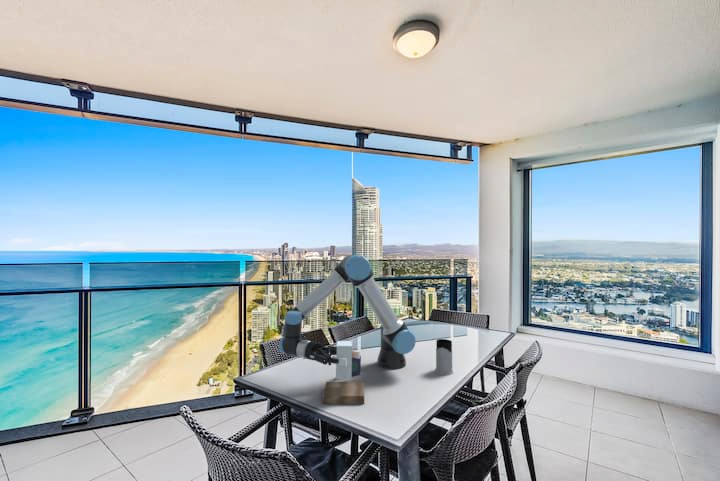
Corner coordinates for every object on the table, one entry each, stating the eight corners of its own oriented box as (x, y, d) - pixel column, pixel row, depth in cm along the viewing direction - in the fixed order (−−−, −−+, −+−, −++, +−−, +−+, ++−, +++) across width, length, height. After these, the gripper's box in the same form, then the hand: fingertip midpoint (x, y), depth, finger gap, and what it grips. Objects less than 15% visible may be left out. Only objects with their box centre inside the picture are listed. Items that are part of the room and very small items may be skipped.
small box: (351, 379, 122) (352, 346, 123) (335, 379, 122) (336, 346, 123) (351, 371, 130) (351, 340, 131) (336, 372, 130) (336, 340, 131)
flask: (344, 378, 144) (345, 355, 145) (341, 376, 147) (342, 353, 147) (361, 374, 149) (361, 352, 149) (358, 372, 151) (358, 350, 152)
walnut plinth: (363, 388, 133) (363, 381, 133) (364, 404, 119) (364, 396, 119) (326, 388, 132) (326, 381, 133) (322, 403, 118) (322, 396, 119)
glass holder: (433, 372, 152) (433, 341, 153) (440, 364, 165) (439, 335, 166) (451, 375, 148) (451, 344, 149) (456, 366, 161) (456, 337, 162)
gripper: (324, 352, 145) (365, 360, 134) (291, 366, 125) (337, 377, 114) (324, 336, 145) (366, 342, 134) (292, 347, 126) (338, 356, 115)
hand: (353, 358), depth 124 cm, fingers closed on small box, 10 cm apart
